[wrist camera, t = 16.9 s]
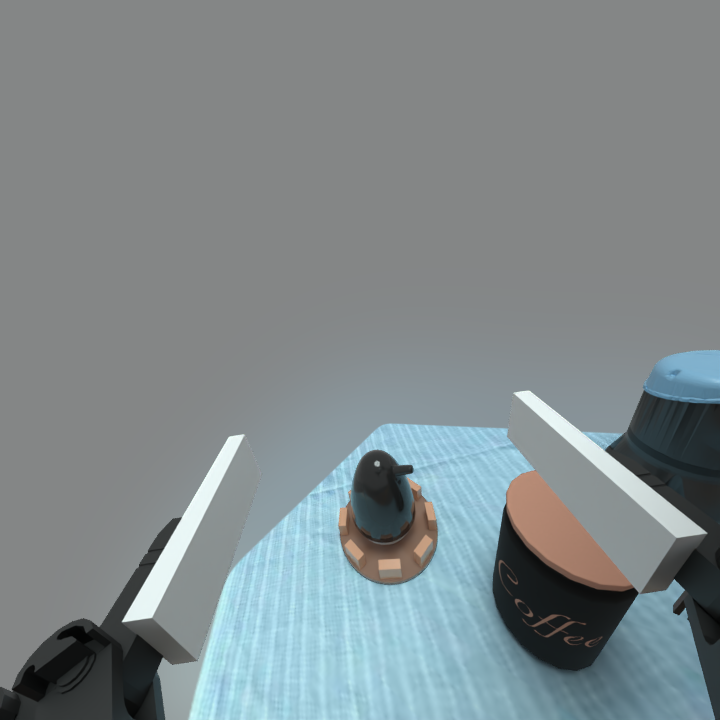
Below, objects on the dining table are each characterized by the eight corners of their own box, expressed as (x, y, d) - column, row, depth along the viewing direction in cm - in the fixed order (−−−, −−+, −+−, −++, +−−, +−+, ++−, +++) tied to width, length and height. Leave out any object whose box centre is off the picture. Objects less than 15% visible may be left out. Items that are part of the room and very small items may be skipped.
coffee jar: (475, 601, 33) (484, 512, 25) (515, 542, 38) (533, 453, 30) (578, 709, 25) (639, 627, 17) (611, 615, 30) (668, 520, 22)
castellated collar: (425, 481, 49) (425, 469, 48) (450, 582, 35) (450, 569, 34) (344, 487, 51) (341, 475, 49) (335, 587, 36) (331, 574, 35)
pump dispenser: (412, 567, 36) (405, 496, 30) (346, 545, 40) (327, 479, 34) (422, 502, 45) (418, 436, 38) (366, 489, 49) (354, 427, 42)
